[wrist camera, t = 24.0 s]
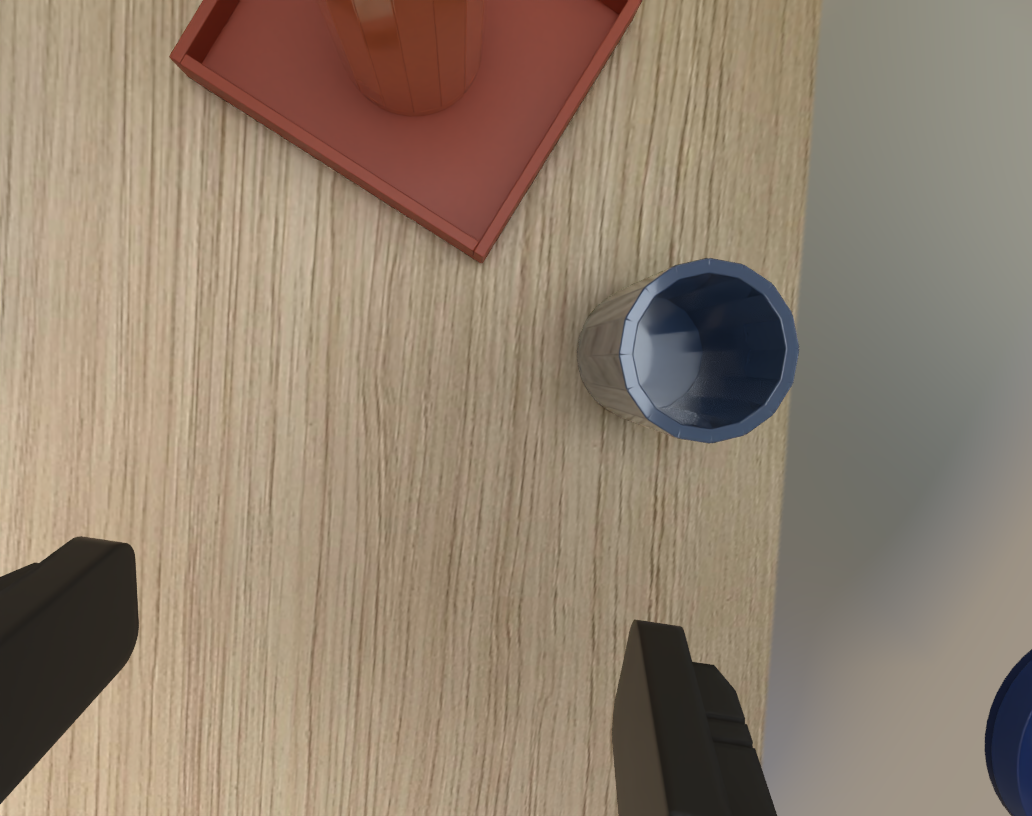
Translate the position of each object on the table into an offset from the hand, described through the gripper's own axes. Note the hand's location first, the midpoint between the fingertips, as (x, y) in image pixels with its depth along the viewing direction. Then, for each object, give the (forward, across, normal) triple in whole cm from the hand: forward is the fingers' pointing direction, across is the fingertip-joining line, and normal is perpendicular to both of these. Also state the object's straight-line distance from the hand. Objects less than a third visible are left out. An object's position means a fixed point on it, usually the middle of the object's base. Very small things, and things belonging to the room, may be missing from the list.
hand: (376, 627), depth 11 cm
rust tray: (+25, +5, -12) cm, 28 cm away
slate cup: (+23, -7, 0) cm, 24 cm away
